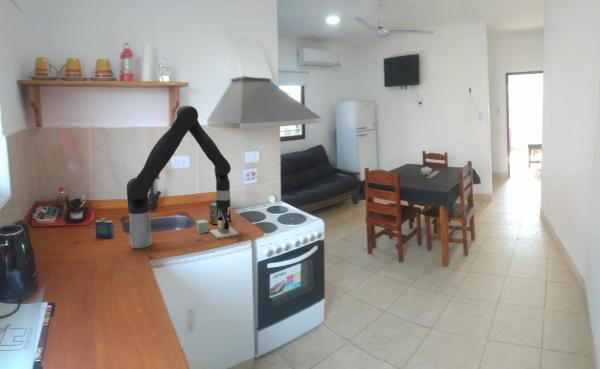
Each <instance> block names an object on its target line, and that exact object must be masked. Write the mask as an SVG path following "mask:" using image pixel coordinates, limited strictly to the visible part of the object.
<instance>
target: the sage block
mask: <svg viewBox="0 0 600 369" xmlns="http://www.w3.org/2000/svg"><path fill="white" fill-rule="evenodd" d="M195 229H196V230H195V231H196V232H197V231H198V232H199V233H202V232H207V231H208V232H209V222H208V220H206V219H200V220H196V221H195ZM198 232H197V233H198ZM199 233H198V234H199ZM202 234H203V233H202Z"/></svg>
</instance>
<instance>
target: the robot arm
mask: <svg viewBox="0 0 600 369" xmlns="http://www.w3.org/2000/svg"><path fill="white" fill-rule="evenodd" d="M198 119H199V112H198V109H196V107H194V106H193V105H192V106H191V105H183V106H180V107H179V108H178V109H177V112H176V118H175V120H174V121H173V123H172V125H171V127H170V128H169V129H168V130H167V131H166V132H164V134H162V136H161V137H160V138H159V139H158V141H157V142H156V143H155V145H154V146H153V148H152V149H151V151H150V152H149V154H148V156H147V158H146V161H145V163H144V166H143V168H141V170H140V172H139V174H137V176H136V177H133V178H131V179H130V180H128V182H127V183H126V197H127V198H126V199H127V208H128V221H129V222H128V223H129V227H128V229H129V230H128V231H129V242H130V243H129V245H130V247H131V249H133V250H134V249H144V248H148V247H150V246H152V244H153V243H152V230H151V229H152V228H151V213H150V212H151V211H150V210H151V209H150V202H149V192H150V190H151V188H152V186H153V185H154V183H155V181H156V179H157V178H158V176H159V175H160V173H162V171H163V170H164V168H165V167H166V166H167V164H168V162H170V160H171V158H172V157H173V155H175V152H176V151H177V149H178V148H179V147H180V145H181V143H182V141H183V139H184V137H185V136H186V134H188V132H189V133H190V134H191V136H192V137H193V139H195V141H196V142H197V144H198V145H199V147H200V149H201V150H202V152H203V153H204V155H205V156H206V158H207V159H208V160H209V161H211V164H213V166H214V175H215V187H216V188H215V202H216V207H217V216H218V218H219V220H223V219H224V229H225V230H227V229H229V222H230V223H231V222H232V220H231V219H232V216H231V211H229V209H228V208H230V207H231V190H230V188H231V187H230V186H231V185H230V184H231V183H230V182H231V181H230V179H229V175H228V174H230V172H231V170H232V168H231V164H230V163H229V161H228V159H227V158H225V156H224V155H223V154H222V152H221V151H220V149H219V147H218V146H217V144H216V143H215V142H214V140H213V139H212V138H211V137H210V136H209V134H208V133H207V132H206V131H205V130H204V128H203V126H202V125H201V123H200V122H199V120H198ZM225 219H226V220H225Z"/></svg>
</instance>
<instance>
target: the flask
mask: <svg viewBox="0 0 600 369" xmlns="http://www.w3.org/2000/svg"><path fill="white" fill-rule="evenodd" d="M106 218H107V217H102V218H101V219H97V220H95V222H94V224H95V236H96V238H97V239H101V240H102V239H105V240H106V239H108V240H110V239H111V240H112V239H114V238H115V230H114V221H113V220H106Z"/></svg>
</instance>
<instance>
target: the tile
mask: <svg viewBox="0 0 600 369" xmlns="http://www.w3.org/2000/svg"><path fill="white" fill-rule="evenodd" d="M209 232H211V233H212V234H213V235H214V236H215V237H216V238H221V239H224V238H223V237H227V238H230V237H229V236H233V235H238V234H239V232H238V231H236V230H234V228H232V227H231V226H230V233H224V234H221V233H219V232H218V228H215V229H208V233H209ZM211 233H210V234H211ZM212 234H211V235H212ZM213 235H212V236H213ZM239 235H240V234H239ZM239 235H238V236H239ZM214 236H213V237H214ZM215 237H214V238H215ZM233 237H234V236H233ZM216 238H215V239H216Z"/></svg>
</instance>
